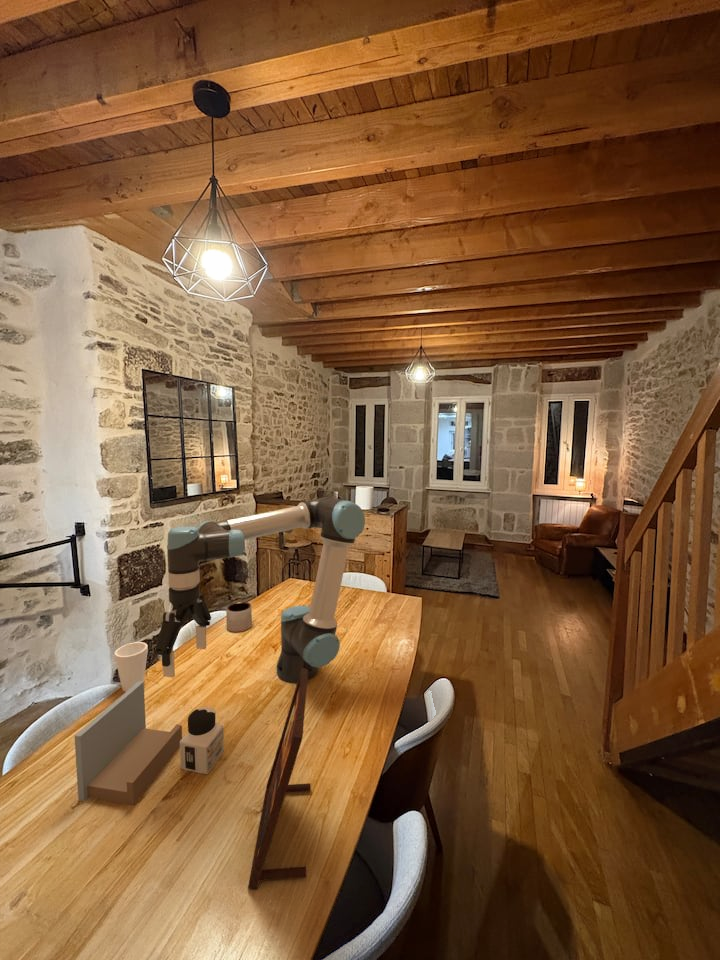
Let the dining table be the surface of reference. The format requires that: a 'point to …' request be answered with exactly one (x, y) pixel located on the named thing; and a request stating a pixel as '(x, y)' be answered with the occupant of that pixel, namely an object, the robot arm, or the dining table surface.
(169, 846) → the dining table surface
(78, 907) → the dining table surface
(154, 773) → the wall shelf
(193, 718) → the container
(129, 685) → the foam cup
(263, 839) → the picture frame
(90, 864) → the dining table surface
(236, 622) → the planter
